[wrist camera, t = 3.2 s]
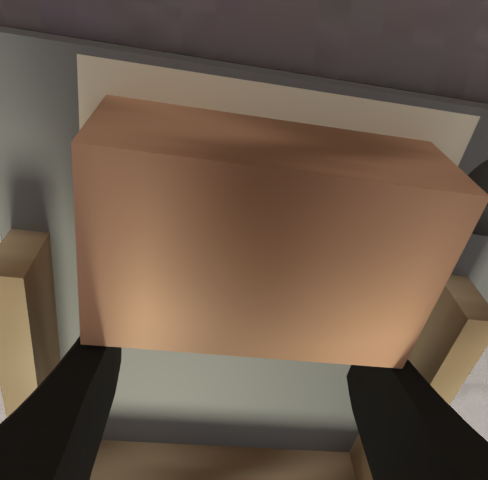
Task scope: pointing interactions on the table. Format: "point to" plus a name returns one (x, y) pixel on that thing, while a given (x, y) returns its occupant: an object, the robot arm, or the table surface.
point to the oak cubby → (205, 456)
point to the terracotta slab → (261, 234)
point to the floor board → (220, 99)
